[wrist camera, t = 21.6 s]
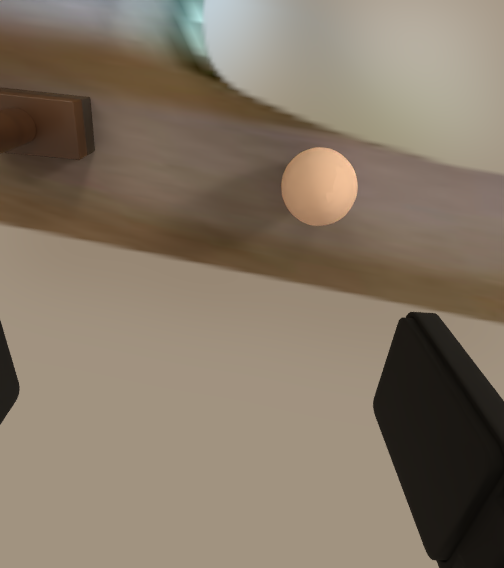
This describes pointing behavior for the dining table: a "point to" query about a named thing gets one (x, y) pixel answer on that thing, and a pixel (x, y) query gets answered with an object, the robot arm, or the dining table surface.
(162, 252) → the dining table surface
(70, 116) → the wooden stamp
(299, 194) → the egg
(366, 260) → the dining table surface
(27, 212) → the dining table surface
